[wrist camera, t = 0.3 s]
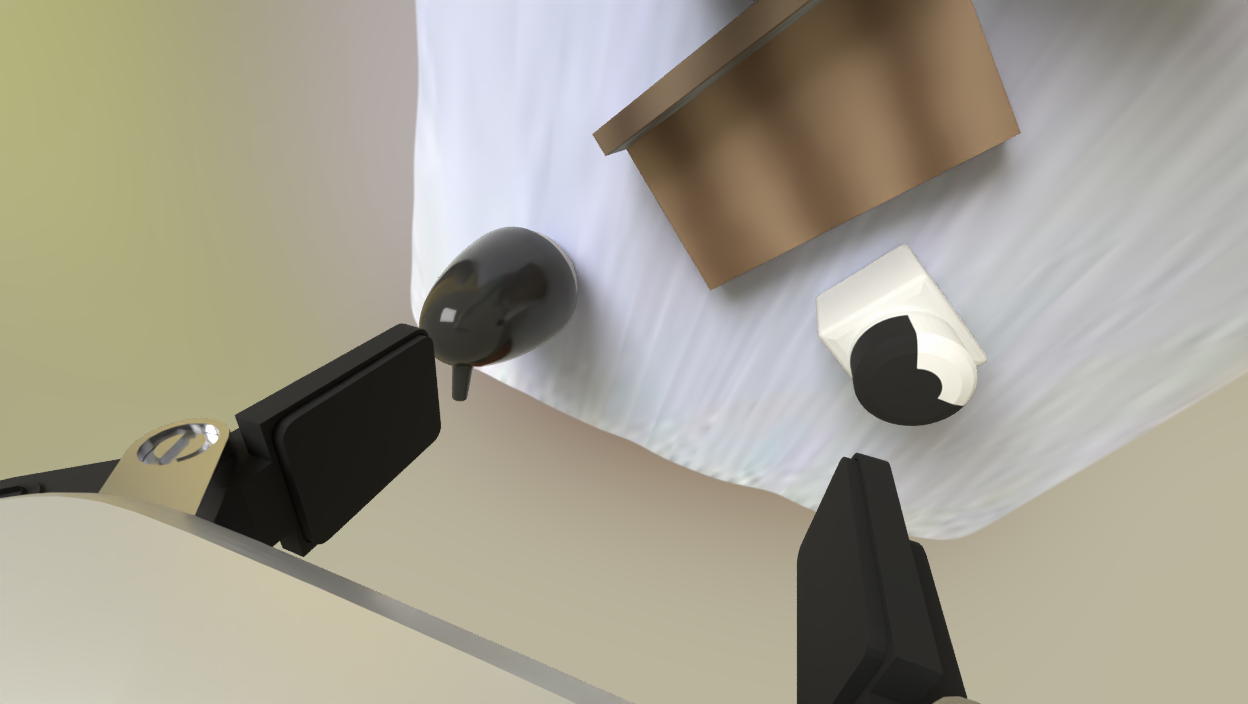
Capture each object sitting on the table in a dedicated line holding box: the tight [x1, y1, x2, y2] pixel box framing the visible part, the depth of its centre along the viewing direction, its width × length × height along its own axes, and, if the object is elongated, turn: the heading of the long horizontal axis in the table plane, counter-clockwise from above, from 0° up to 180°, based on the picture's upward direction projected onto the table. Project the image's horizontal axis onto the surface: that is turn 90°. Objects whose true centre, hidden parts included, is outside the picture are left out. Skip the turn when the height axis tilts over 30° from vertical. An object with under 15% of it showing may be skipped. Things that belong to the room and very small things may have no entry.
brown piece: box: [593, 0, 1021, 290], centre depth 29 cm, size 20×14×7 cm
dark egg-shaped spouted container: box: [419, 227, 577, 401], centre depth 38 cm, size 10×10×15 cm
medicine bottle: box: [816, 244, 987, 426], centre depth 31 cm, size 7×7×12 cm
